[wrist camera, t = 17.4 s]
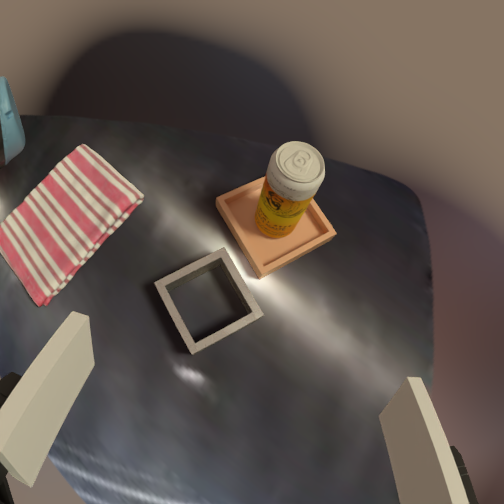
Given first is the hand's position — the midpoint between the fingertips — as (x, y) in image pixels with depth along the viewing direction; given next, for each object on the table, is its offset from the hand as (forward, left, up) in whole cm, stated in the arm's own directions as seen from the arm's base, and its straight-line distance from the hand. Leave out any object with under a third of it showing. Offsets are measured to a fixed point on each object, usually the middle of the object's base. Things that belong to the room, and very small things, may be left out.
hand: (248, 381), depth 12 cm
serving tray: (-14, +16, -30) cm, 37 cm away
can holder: (-8, +2, -30) cm, 31 cm away
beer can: (-14, +16, -29) cm, 36 cm away
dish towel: (-30, -12, -30) cm, 44 cm away
